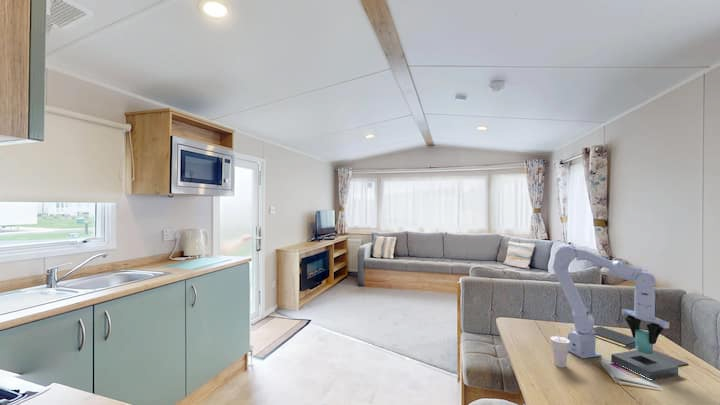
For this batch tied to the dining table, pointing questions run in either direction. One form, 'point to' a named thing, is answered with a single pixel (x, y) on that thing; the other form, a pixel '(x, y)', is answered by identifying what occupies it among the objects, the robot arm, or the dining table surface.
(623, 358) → the housing
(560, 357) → the smoothie
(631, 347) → the grey book
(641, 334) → the end cap
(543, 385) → the dining table surface
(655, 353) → the mat
